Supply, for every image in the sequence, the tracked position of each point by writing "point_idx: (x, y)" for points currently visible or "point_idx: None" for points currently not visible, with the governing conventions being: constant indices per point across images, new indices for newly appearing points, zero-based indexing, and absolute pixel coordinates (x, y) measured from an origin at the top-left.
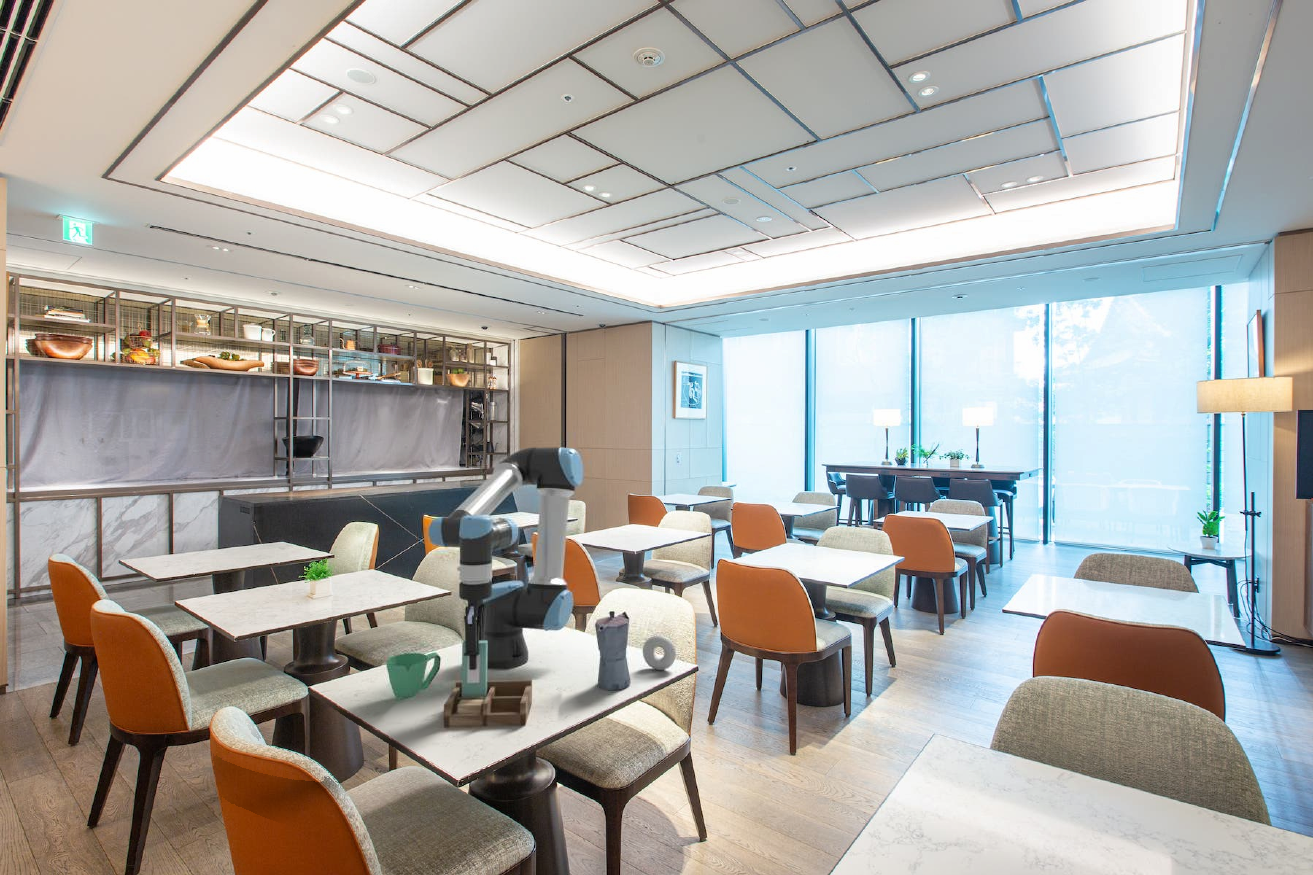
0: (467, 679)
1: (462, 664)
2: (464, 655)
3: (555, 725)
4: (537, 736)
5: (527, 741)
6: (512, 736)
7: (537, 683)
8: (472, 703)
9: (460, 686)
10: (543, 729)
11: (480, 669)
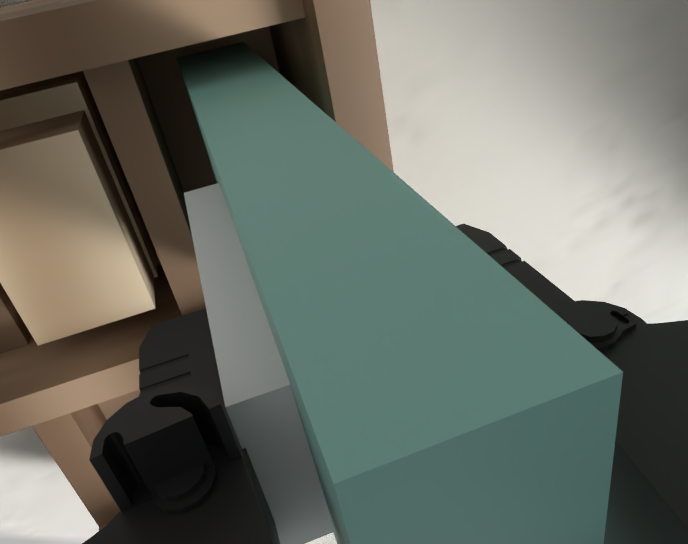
0: (187, 209)
1: (229, 195)
2: (118, 419)
3: None
4: (89, 526)
5: (17, 520)
6: (42, 442)
7: (685, 252)
8: (38, 270)
9: (304, 16)
10: None
11: None
